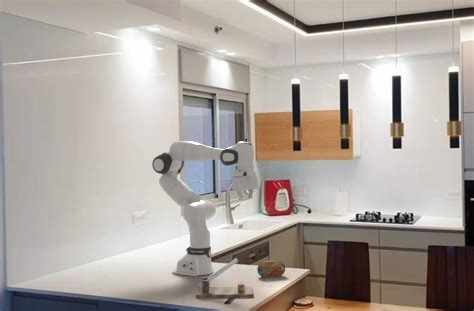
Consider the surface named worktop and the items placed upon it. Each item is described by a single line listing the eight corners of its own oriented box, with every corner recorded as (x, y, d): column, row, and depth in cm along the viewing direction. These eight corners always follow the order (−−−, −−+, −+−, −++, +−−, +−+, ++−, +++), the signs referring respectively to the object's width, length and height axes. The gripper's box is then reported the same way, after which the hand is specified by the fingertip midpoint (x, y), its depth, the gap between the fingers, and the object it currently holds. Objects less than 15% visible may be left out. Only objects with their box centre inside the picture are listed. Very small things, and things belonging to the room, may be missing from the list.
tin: (258, 278, 280) (258, 262, 280) (256, 277, 283) (256, 261, 283) (285, 276, 284) (285, 260, 284) (283, 275, 287) (283, 259, 287)
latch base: (196, 298, 244) (196, 283, 244) (198, 290, 258) (198, 275, 258) (253, 297, 244) (253, 282, 244) (252, 289, 258) (252, 274, 258)
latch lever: (205, 285, 249) (203, 283, 249) (205, 282, 253) (204, 280, 253) (237, 261, 249) (236, 259, 249) (237, 260, 253) (236, 257, 253)
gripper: (250, 171, 291) (250, 197, 292) (229, 173, 274) (229, 200, 274) (260, 171, 288) (260, 197, 288) (240, 173, 271) (240, 200, 271)
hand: (245, 198), depth 281 cm, fingers open, 8 cm apart
